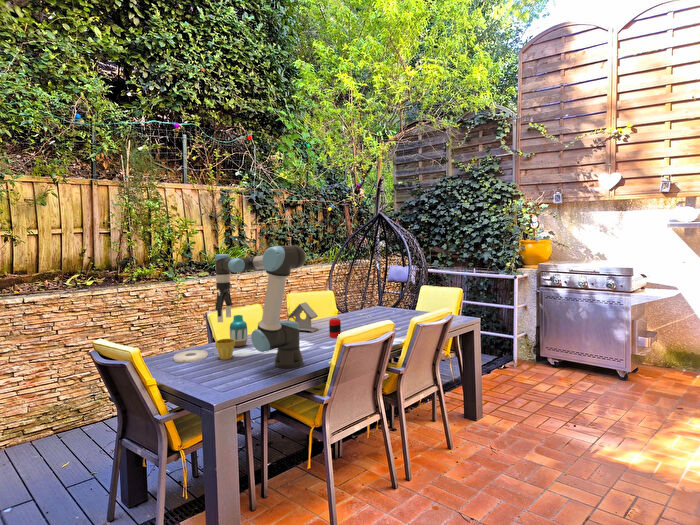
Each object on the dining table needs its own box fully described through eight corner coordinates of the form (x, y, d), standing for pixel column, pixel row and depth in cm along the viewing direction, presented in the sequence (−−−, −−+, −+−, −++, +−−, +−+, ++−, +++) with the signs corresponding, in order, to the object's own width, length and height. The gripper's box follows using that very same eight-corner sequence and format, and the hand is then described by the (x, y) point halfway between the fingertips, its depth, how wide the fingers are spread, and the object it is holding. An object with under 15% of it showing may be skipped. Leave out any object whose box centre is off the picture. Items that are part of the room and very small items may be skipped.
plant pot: (229, 361, 236) (229, 343, 235) (212, 360, 238) (212, 342, 237) (238, 355, 246) (237, 338, 245) (221, 354, 248) (221, 338, 248)
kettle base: (200, 362, 234) (200, 359, 233) (167, 362, 234) (167, 359, 234) (212, 353, 252) (212, 350, 251) (182, 353, 252) (181, 350, 252)
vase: (226, 347, 264) (225, 316, 262) (236, 343, 274) (235, 313, 272) (241, 349, 260) (240, 317, 259) (251, 344, 270) (250, 314, 269)
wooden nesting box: (318, 330, 307) (317, 302, 306) (311, 333, 299) (311, 304, 297) (295, 328, 314) (294, 301, 313) (288, 331, 306) (288, 303, 304)
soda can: (340, 335, 291) (340, 317, 291) (340, 337, 284) (340, 319, 283) (329, 335, 291) (329, 317, 290) (329, 338, 284) (329, 320, 283)
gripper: (224, 279, 252) (225, 315, 253) (208, 284, 227) (209, 324, 229) (236, 279, 252) (238, 315, 253) (222, 284, 227) (223, 324, 228)
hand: (224, 319), depth 241 cm, fingers open, 13 cm apart
